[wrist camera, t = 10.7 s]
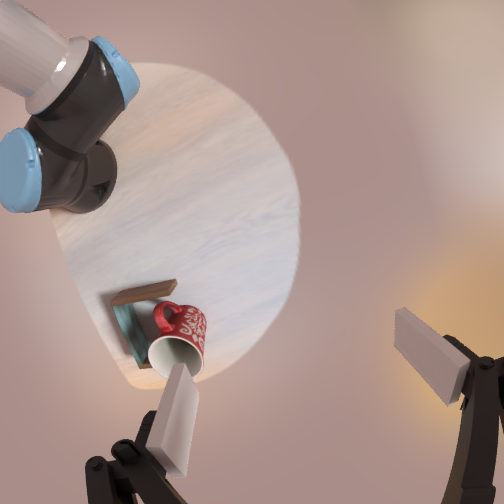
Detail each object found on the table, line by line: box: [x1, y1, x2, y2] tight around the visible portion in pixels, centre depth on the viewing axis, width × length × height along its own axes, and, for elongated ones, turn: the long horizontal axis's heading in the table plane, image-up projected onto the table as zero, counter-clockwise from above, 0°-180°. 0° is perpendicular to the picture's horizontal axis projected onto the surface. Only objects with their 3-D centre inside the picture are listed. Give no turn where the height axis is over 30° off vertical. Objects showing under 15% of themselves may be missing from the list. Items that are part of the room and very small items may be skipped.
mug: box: [148, 301, 206, 379], centre depth 44 cm, size 13×9×14 cm
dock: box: [111, 279, 177, 369], centre depth 48 cm, size 15×12×6 cm
